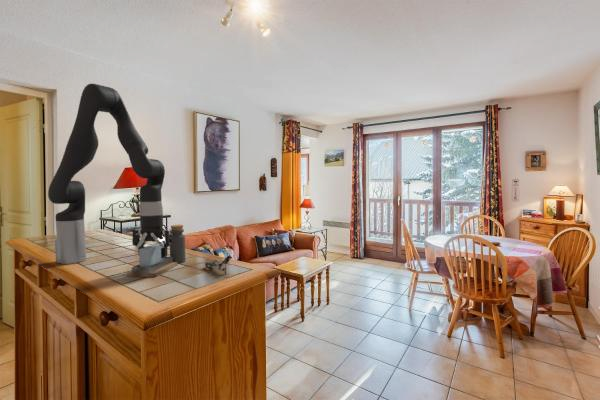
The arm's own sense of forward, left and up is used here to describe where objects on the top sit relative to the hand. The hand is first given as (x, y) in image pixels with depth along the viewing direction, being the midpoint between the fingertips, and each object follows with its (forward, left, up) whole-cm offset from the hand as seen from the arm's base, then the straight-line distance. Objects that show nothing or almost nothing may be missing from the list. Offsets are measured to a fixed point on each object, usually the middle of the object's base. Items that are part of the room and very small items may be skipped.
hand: (153, 257), depth 110 cm
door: (0, 0, -4) cm, 4 cm away
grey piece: (0, 0, -5) cm, 5 cm away
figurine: (+24, +3, -5) cm, 25 cm away
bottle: (+3, +12, -5) cm, 13 cm away
